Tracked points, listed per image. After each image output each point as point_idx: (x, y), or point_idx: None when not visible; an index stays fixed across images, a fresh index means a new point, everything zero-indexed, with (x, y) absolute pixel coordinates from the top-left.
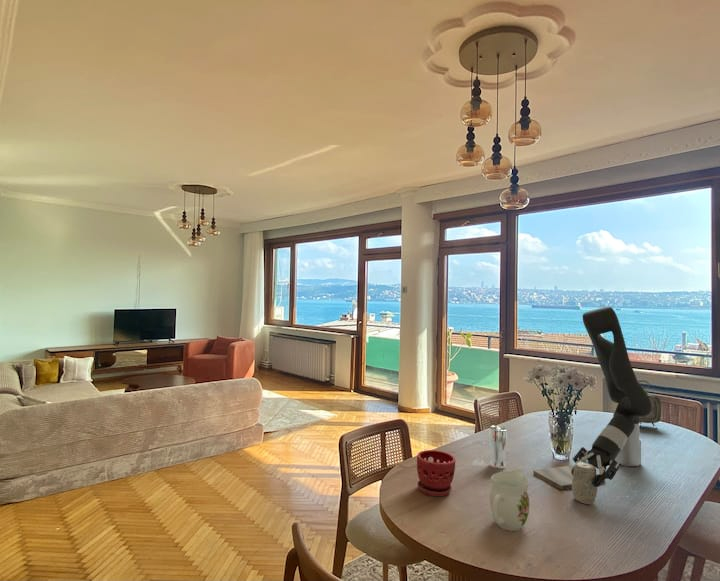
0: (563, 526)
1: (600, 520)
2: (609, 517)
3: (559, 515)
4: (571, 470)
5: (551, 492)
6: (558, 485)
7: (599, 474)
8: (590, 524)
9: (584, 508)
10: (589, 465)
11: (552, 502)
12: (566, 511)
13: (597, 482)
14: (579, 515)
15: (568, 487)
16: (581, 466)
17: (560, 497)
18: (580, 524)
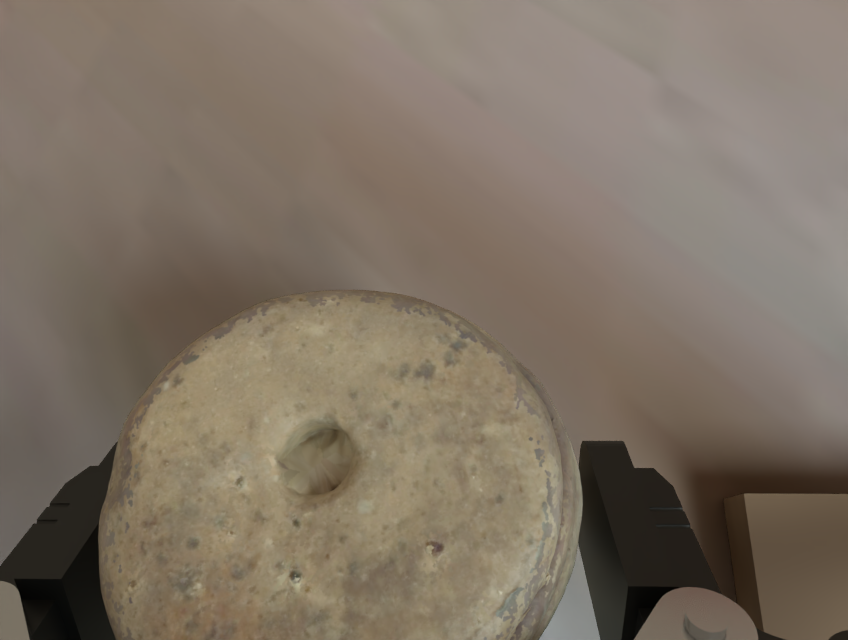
0: (136, 13)
1: (57, 347)
2: (49, 483)
3: (269, 91)
4: (666, 481)
5: (682, 337)
6: (789, 497)
7: (42, 612)
8: (57, 212)
9: None
10: (265, 588)
11: (480, 192)
12: (299, 188)
13: (71, 488)
14: (201, 241)
15: None
16: (286, 315)
17: (553, 342)
18: (96, 140)
